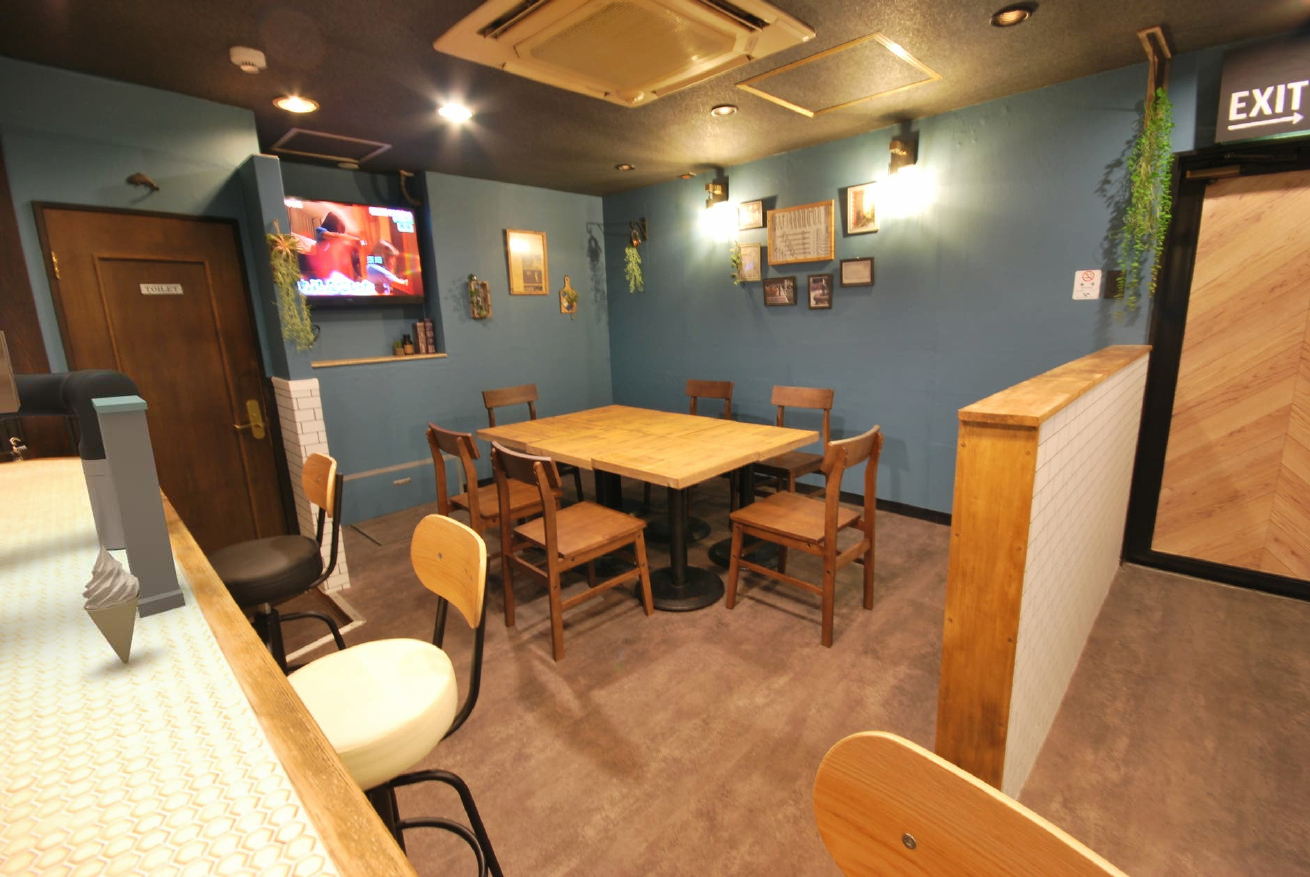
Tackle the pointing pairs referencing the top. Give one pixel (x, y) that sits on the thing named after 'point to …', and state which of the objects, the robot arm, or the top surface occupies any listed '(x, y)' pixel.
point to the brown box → (7, 380)
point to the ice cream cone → (113, 602)
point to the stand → (139, 502)
